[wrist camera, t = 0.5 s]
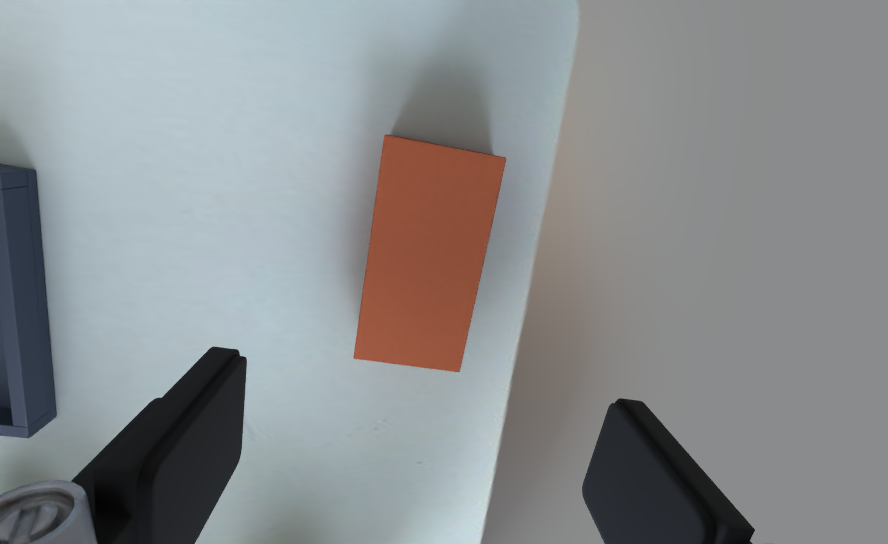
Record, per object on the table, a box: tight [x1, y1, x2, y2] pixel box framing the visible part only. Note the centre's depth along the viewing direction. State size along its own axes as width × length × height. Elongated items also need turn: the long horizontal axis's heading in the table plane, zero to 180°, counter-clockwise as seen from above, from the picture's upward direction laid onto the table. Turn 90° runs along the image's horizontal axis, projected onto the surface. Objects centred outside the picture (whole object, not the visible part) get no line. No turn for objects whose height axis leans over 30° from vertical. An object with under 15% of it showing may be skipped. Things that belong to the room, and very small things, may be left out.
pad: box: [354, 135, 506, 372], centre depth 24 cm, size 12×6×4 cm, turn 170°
